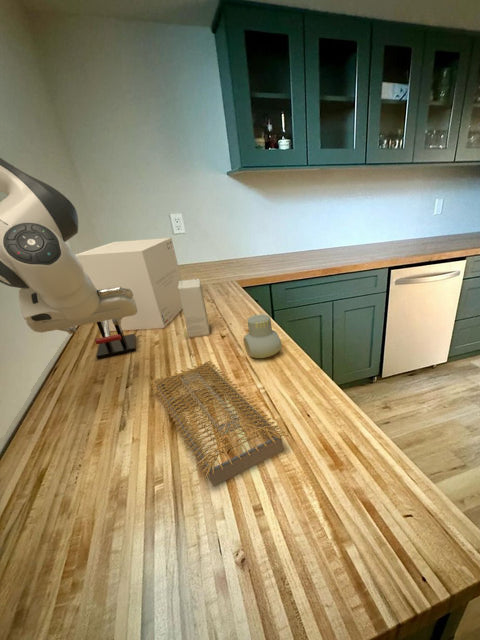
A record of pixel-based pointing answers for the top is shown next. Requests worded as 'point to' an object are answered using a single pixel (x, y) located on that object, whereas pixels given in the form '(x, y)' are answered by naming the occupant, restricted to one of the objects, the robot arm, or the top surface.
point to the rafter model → (206, 394)
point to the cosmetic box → (194, 307)
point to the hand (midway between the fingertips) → (95, 326)
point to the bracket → (116, 344)
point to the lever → (107, 335)
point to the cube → (138, 278)
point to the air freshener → (261, 337)
